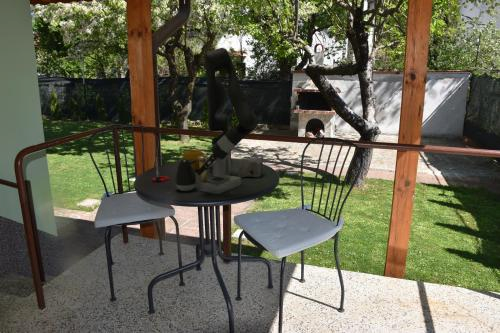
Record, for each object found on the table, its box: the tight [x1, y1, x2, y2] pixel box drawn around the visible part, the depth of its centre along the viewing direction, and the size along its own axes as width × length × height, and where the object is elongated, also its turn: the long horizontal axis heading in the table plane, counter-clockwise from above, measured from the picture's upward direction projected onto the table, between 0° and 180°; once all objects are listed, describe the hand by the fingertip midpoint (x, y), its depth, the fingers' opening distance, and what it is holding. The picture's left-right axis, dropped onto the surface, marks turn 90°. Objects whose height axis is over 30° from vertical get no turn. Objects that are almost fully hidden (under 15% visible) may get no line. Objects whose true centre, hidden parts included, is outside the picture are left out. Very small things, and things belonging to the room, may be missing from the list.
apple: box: [182, 149, 206, 172], centre depth 237 cm, size 13×13×11 cm
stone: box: [237, 156, 264, 178], centre depth 220 cm, size 13×12×10 cm
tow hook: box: [151, 156, 170, 183], centre depth 216 cm, size 8×13×9 cm
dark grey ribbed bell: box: [174, 158, 197, 192], centre depth 196 cm, size 10×10×15 cm
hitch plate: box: [197, 174, 242, 195], centre depth 200 cm, size 18×12×5 cm, turn 144°
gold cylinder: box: [197, 154, 209, 183], centre depth 188 cm, size 5×5×12 cm
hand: (198, 172), depth 189 cm, fingers closed on gold cylinder, 3 cm apart
